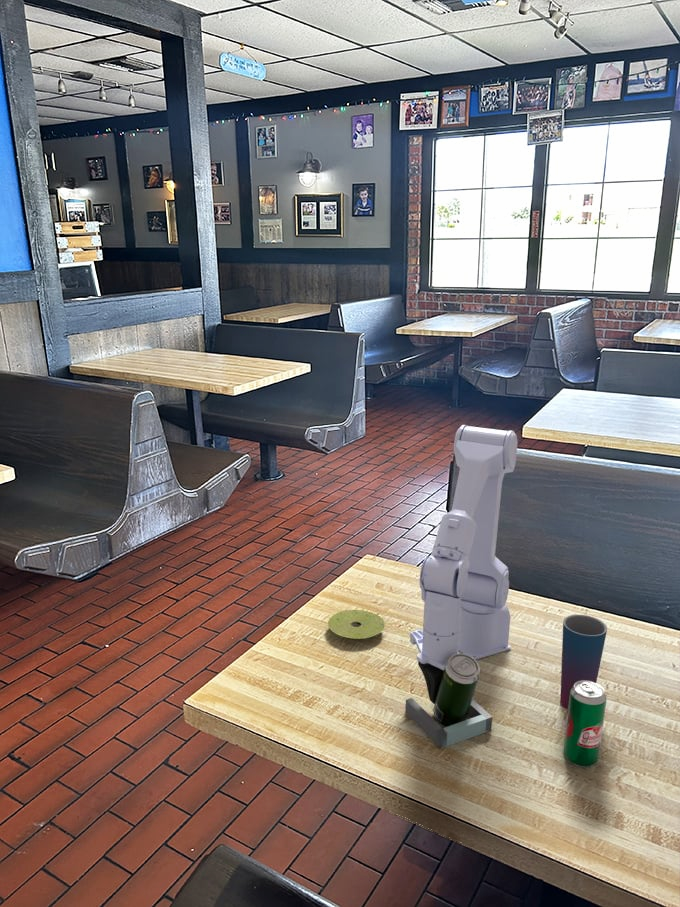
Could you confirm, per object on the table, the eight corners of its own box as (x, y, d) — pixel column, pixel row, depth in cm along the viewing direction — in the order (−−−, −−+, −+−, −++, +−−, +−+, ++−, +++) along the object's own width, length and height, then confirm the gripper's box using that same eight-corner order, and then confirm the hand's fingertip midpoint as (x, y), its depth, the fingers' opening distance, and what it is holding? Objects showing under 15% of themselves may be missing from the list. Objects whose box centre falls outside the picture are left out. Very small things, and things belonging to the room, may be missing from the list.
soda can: (578, 773, 105) (587, 702, 101) (555, 751, 109) (563, 683, 106) (605, 763, 106) (615, 694, 103) (581, 742, 111) (590, 675, 108)
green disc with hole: (336, 614, 149) (336, 605, 148) (389, 622, 146) (389, 613, 145) (320, 642, 138) (320, 633, 138) (377, 651, 135) (377, 641, 135)
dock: (454, 696, 122) (455, 683, 121) (491, 730, 114) (492, 716, 113) (405, 712, 118) (405, 699, 117) (439, 749, 109) (440, 735, 108)
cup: (597, 696, 122) (607, 618, 118) (597, 720, 116) (607, 639, 112) (555, 688, 124) (564, 611, 120) (553, 711, 118) (562, 631, 114)
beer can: (448, 736, 112) (463, 684, 106) (425, 711, 116) (439, 660, 110) (472, 721, 115) (488, 670, 109) (449, 698, 119) (464, 647, 112)
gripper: (395, 612, 118) (393, 683, 122) (447, 656, 106) (442, 733, 110) (431, 603, 121) (427, 673, 125) (485, 644, 109) (479, 720, 113)
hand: (437, 700), depth 118 cm, fingers closed
